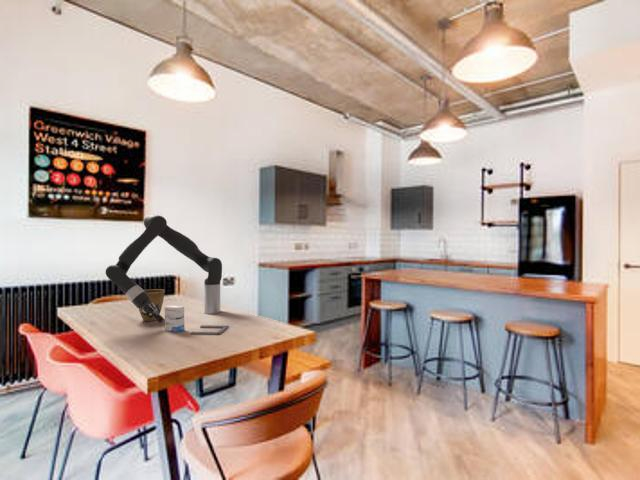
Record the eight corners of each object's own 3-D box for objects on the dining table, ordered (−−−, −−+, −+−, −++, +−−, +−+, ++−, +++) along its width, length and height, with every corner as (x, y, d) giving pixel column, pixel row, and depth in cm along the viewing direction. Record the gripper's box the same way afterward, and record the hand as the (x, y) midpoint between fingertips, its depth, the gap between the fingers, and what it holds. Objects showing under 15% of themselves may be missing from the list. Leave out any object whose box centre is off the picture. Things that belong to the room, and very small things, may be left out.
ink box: (184, 329, 179) (184, 306, 179) (177, 332, 175) (177, 308, 175) (172, 328, 183) (172, 304, 183) (164, 330, 178) (164, 306, 178)
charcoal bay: (201, 326, 185) (201, 325, 185) (228, 327, 184) (228, 325, 184) (190, 334, 172) (190, 332, 172) (219, 334, 171) (219, 333, 171)
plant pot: (170, 316, 207) (169, 289, 206) (155, 323, 192) (155, 293, 191) (145, 316, 208) (145, 288, 208) (129, 322, 193) (129, 292, 193)
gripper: (135, 293, 173) (160, 319, 172) (150, 289, 186) (173, 313, 186) (125, 304, 173) (150, 330, 173) (140, 299, 186) (163, 323, 186)
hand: (162, 321), depth 179 cm, fingers closed
